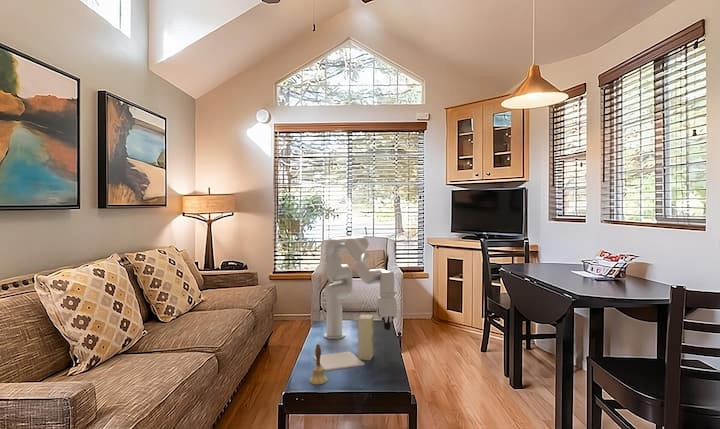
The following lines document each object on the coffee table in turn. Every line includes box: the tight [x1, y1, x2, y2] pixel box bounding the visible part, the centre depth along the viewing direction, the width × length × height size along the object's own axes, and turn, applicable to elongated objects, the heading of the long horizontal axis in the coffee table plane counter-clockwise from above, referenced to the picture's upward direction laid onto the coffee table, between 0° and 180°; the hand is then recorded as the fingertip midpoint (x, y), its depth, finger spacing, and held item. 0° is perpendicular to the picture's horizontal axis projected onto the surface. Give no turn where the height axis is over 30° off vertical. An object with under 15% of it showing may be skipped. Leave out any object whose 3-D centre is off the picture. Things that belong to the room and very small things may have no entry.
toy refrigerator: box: [357, 314, 375, 361], centre depth 220 cm, size 8×7×21 cm
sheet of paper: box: [313, 350, 365, 372], centre depth 214 cm, size 20×20×1 cm
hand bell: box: [308, 344, 329, 385], centre depth 189 cm, size 8×8×16 cm
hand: (387, 329), depth 224 cm, fingers closed
